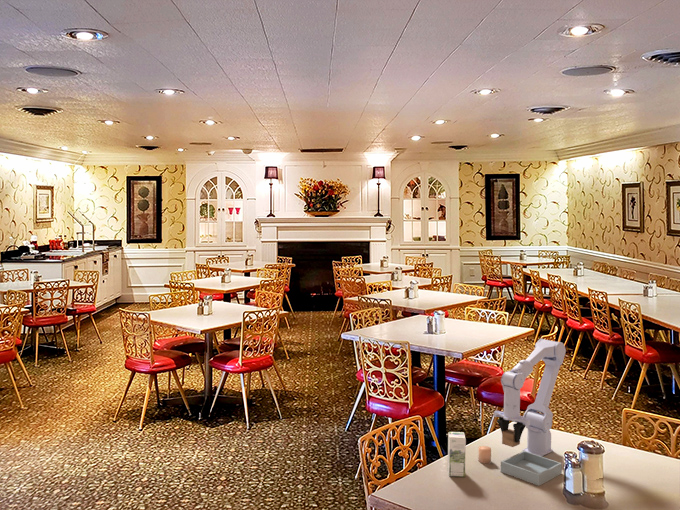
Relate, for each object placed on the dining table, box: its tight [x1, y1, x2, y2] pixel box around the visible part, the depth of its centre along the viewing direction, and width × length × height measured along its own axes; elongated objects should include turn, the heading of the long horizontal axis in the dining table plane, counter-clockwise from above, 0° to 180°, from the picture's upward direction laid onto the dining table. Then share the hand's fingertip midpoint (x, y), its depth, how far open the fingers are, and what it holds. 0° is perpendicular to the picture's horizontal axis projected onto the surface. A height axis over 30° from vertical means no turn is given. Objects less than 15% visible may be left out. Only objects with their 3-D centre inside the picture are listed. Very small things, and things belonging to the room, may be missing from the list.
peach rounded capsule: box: [478, 445, 492, 465], centre depth 226 cm, size 5×5×5 cm
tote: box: [500, 450, 563, 487], centre depth 216 cm, size 15×15×4 cm
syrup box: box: [447, 431, 467, 478], centre depth 215 cm, size 6×6×14 cm
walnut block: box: [501, 428, 521, 448], centre depth 225 cm, size 5×5×5 cm
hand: (511, 439), depth 225 cm, fingers closed on walnut block, 5 cm apart
